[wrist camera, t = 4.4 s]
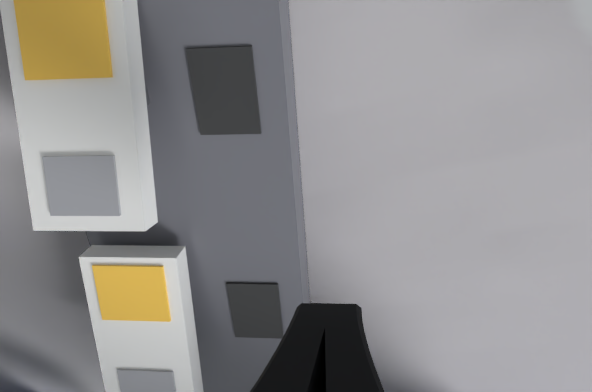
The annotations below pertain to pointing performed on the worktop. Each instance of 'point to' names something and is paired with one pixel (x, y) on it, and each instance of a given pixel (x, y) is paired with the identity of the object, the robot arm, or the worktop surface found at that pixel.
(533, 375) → the worktop surface
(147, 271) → the rocker switch
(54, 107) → the outlet rocker
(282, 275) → the power strip
